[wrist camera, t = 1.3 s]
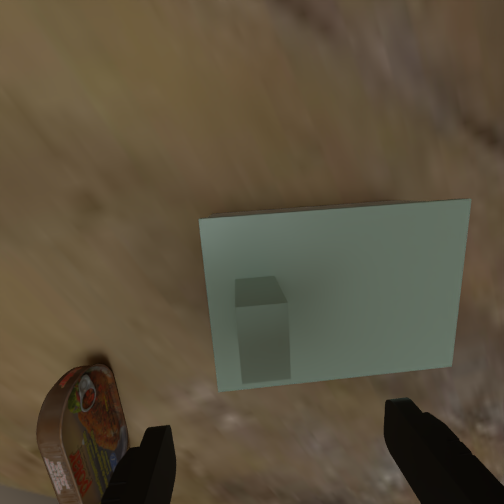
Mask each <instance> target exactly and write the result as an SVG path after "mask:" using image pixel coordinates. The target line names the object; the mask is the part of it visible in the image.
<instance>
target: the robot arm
mask: <svg viewBox="0 0 504 504" xmlns="http://www.w3.org/2000/svg"><path fill="white" fill-rule="evenodd" d="M384 438H385V442H386V445H387V448H388V450H389V452H390V454H391V455H392V457H393V459H394V460H395V462H396V464H397V465H398V467H399V468H400V470H401V472H402V473H403V475H404V477H405V478H406V480H407V481H408V483H409V485H410V486H411V488H412V490H413V491H414V493H415V494H416V496H417V498H418V499H419V501H420V503H421V504H504V486H503V485H502V484H501V483H500V482H499V481H498V480H497V479H496V478H495V476H494V475H493V474H492V473H491V472H490V471H489V470H488V469H487V468H486V467H485V466H484V465H483V464H482V463H481V462H480V461H479V459H478V458H477V457H476V456H475V455H472V453H471V451H470V450H469V449H468V448H467V447H466V446H465V445H464V443H463V442H460V440H459V438H458V437H457V436H456V435H455V434H454V433H453V432H452V431H451V430H450V429H449V428H448V426H447V425H446V424H445V423H443V422H442V421H440V420H439V419H437V418H436V417H434V416H433V415H431V414H430V413H429V412H424V413H422V411H421V410H420V409H419V408H418V407H417V406H416V405H415V403H414V402H413V401H412V400H411V399H409V398H398V399H390V400H386V402H385V416H384ZM175 475H176V455H175V449H174V443H173V437H172V431H171V427H170V425H165V426H156V427H148V428H147V429H146V431H145V433H144V436H143V439H142V441H141V444H140V447H133V448H129V450H128V451H127V452H126V453H125V455H124V456H123V457H122V459H121V460H120V461H119V462H118V464H117V465H116V467H115V470H114V472H113V474H112V477H111V479H110V481H109V483H108V484H109V485H108V487H107V488H106V490H105V493H104V495H103V497H102V499H101V504H170V501H171V496H172V492H173V487H174V482H175Z"/></svg>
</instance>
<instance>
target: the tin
mask: <svg viewBox="0 0 504 504" xmlns="http://www.w3.org/2000/svg"><path fill="white" fill-rule="evenodd" d="M36 435H37V444H38V447H39V450H40V453H41V456H42V458H43V461H44V464H45V466H46V469H47V472H48V475H49V477H50V480H51V483H52V485H53V488H54V491H55V494H56V496H57V499H58V502H59V504H101V499H102V497H103V495H104V493H105V490H106V488H107V487H108V485H109V484H108V483H109V481H110V479H111V477H112V474H113V472H114V470H115V467H116V465H117V464H118V462H119V461H120V460H121V459H122V457H123V456H124V455H125V453H126V451H127V443H128V433H127V426H126V422H125V418H124V414H123V410H122V406H121V403H120V399H119V395H118V391H117V387H116V383H115V379H114V376H113V373H112V371H111V370H110V369H109V368H108V367H107V366H106V365H104V364H95V365H90V366H80V367H76V368H73V369H71V370H70V371H68V372H67V373H65V374H64V375H63V376H62V377H61V378H60V379H59V380H58V381H57V383H56V384H55V385H54V386H53V387H52V389H51V390H50V391H49V393H48V394H47V396H46V398H45V400H44V402H43V404H42V407H41V410H40V413H39V417H38V422H37V431H36Z"/></svg>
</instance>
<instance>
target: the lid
mask: <svg viewBox="0 0 504 504" xmlns="http://www.w3.org/2000/svg"><path fill="white" fill-rule="evenodd" d="M470 207H471V199H449V200H436V201H423V202H409V203H396V204H382V205H369V206H355V207H342V208H329V209H315V210H302V211H288V212H275V213H261V214H248V215H235V216H221V217H208V218H200V219H199V228H200V236H201V245H202V254H203V263H204V271H205V280H206V289H207V297H208V306H209V315H210V324H211V332H212V341H213V350H214V358H215V367H216V376H217V385H218V392H224V391H233V390H242V389H252V388H261V387H270V386H279V385H288V384H297V383H306V382H315V381H324V380H333V379H342V378H351V377H360V376H369V375H378V374H387V373H397V372H406V371H415V370H424V369H433V368H442V367H451V366H452V360H453V351H454V343H455V334H456V326H457V317H458V309H459V300H460V292H461V283H462V275H463V266H464V258H465V249H466V241H467V232H468V224H469V215H470Z"/></svg>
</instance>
